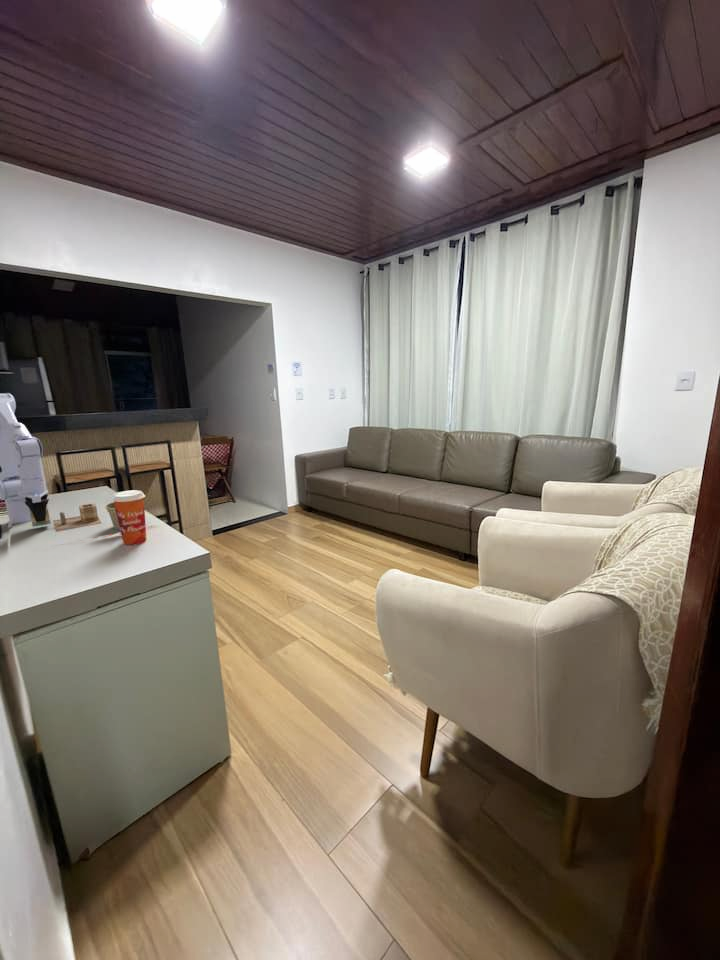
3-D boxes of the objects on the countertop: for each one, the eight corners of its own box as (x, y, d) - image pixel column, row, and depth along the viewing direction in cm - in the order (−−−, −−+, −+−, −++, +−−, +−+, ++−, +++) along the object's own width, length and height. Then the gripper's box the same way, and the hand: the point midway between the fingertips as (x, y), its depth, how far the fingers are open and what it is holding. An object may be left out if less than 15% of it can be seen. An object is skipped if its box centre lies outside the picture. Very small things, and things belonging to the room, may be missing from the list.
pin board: (53, 523, 128) (51, 509, 127) (96, 516, 135) (93, 502, 134) (56, 535, 117) (53, 519, 116) (102, 526, 125) (99, 511, 124)
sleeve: (32, 523, 120) (29, 508, 119) (49, 520, 123) (47, 505, 122) (32, 526, 117) (29, 511, 116) (50, 523, 120) (47, 508, 119)
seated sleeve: (81, 519, 129) (78, 505, 127) (96, 516, 131) (94, 503, 130) (82, 522, 125) (80, 508, 124) (98, 519, 128) (96, 505, 127)
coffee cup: (117, 548, 107) (109, 498, 104) (120, 539, 114) (113, 491, 111) (150, 543, 111) (144, 494, 108) (151, 534, 118) (145, 488, 115)
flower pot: (131, 534, 118) (127, 508, 116) (101, 534, 118) (97, 508, 116) (148, 524, 127) (144, 499, 125) (120, 524, 128) (117, 499, 126)
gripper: (15, 475, 119) (23, 516, 122) (15, 484, 109) (24, 528, 112) (44, 472, 124) (51, 511, 127) (46, 480, 113) (54, 523, 116)
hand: (40, 519), depth 120 cm, fingers closed on sleeve, 4 cm apart
